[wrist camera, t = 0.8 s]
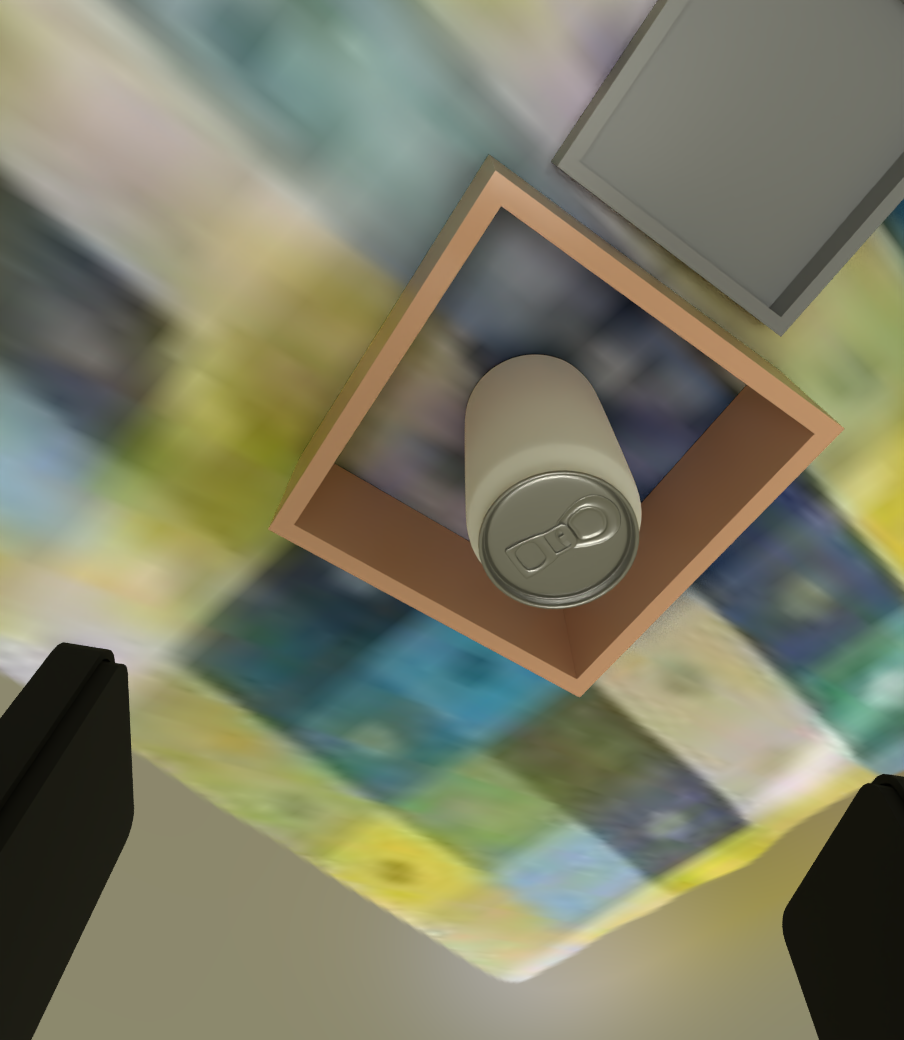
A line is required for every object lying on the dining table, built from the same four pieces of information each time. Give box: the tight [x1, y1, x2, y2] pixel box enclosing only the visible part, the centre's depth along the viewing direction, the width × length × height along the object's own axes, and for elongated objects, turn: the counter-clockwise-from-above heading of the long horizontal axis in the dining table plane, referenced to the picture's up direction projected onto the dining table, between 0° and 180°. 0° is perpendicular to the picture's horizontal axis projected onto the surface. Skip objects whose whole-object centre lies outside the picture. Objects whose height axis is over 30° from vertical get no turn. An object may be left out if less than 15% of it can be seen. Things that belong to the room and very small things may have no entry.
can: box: [465, 355, 642, 609], centre depth 32 cm, size 6×6×12 cm
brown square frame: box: [268, 155, 845, 697], centre depth 34 cm, size 17×17×7 cm
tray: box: [551, 0, 904, 336], centre depth 30 cm, size 12×12×2 cm
